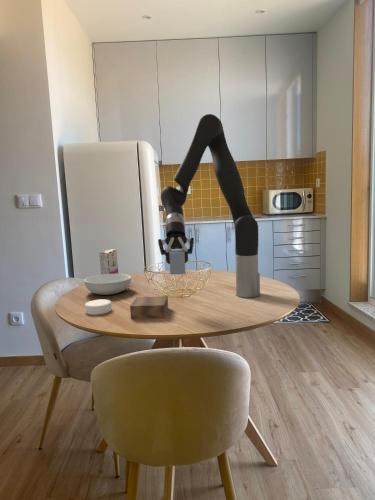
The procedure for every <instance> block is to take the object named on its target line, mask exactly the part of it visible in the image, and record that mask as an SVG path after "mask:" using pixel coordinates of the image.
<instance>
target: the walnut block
mask: <svg viewBox="0 0 375 500" xmlns="http://www.w3.org/2000/svg"><path fill="white" fill-rule="evenodd" d="M168 297H169V296H166V295H165V296H163V295H162V296H161V295H160V296H136V297H135V298H134V300H133V301H132V302H131V304H130V305H129V306H130V307H129V308H130V309H129V310H130V311H129V312H130V319H131V320H133V319H134V320H135V319H136V320H138V319H141V320H142V319H144V320H145V319H165V317H166V315H167V312H168V309H169V298H168Z"/></svg>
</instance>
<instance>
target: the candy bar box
mask: <svg viewBox="0 0 375 500" xmlns="http://www.w3.org/2000/svg"><path fill="white" fill-rule="evenodd" d="M117 252H118V251H117V249H116V248H115V249H114V248H113V249H110V248H109V249H107V250H104V251H101V252H99V253H98V254H99V265H100V275H102V274H119V265H118V253H117Z"/></svg>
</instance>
